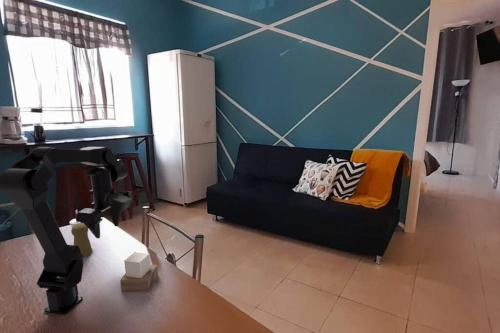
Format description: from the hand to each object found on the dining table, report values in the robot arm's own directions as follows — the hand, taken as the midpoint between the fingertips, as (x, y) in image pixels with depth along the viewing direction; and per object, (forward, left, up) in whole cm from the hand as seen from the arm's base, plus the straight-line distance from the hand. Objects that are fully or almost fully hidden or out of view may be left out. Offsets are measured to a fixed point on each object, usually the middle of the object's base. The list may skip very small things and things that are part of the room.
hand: (107, 231), depth 93 cm
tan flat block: (-8, -15, -12) cm, 21 cm away
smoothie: (+12, +21, -12) cm, 27 cm away
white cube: (-8, -15, -8) cm, 19 cm away
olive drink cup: (+5, +15, -12) cm, 20 cm away
